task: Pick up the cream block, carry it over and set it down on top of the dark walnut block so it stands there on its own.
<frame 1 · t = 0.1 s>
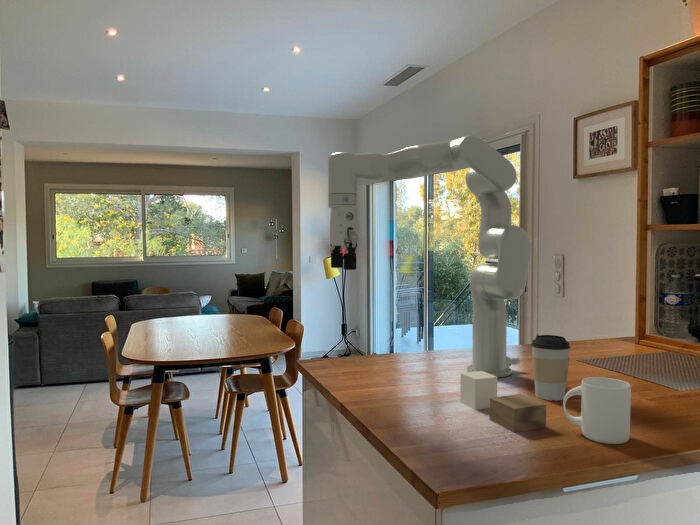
hand: (343, 268, 136), 31 cm above the counter, fingers open, 9 cm apart
coffee cup: (549, 397, 130), on the counter
mug: (595, 436, 104), on the counter
cream block: (478, 404, 124), on the counter
walnut block: (517, 424, 111), on the counter
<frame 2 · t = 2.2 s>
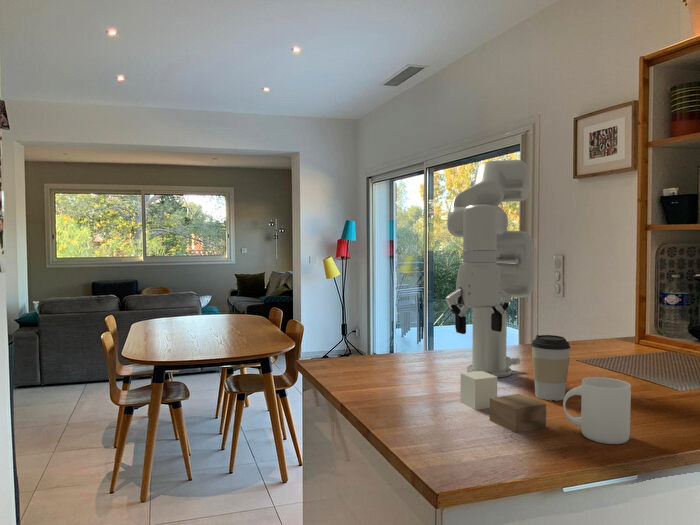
hand: (478, 332, 123), 17 cm above the counter, fingers open, 9 cm apart
nothing on the counter moved.
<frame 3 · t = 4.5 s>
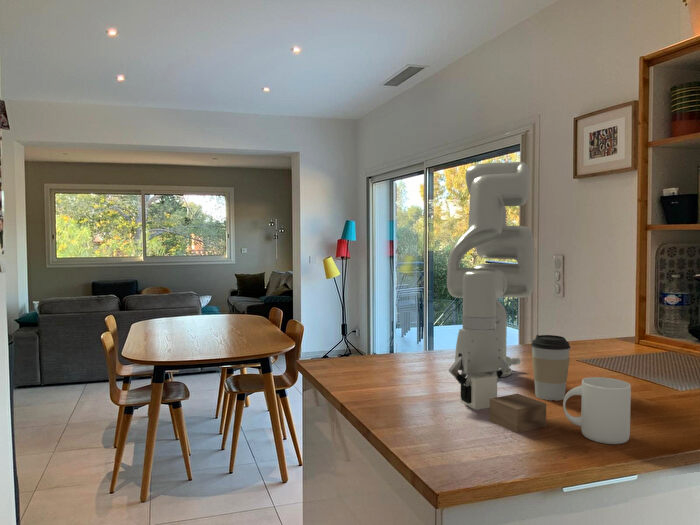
hand: (478, 399, 124), 1 cm above the counter, fingers closed on cream block, 6 cm apart
cream block: (478, 404, 124), on the counter, touching gripper
everything else where it was.
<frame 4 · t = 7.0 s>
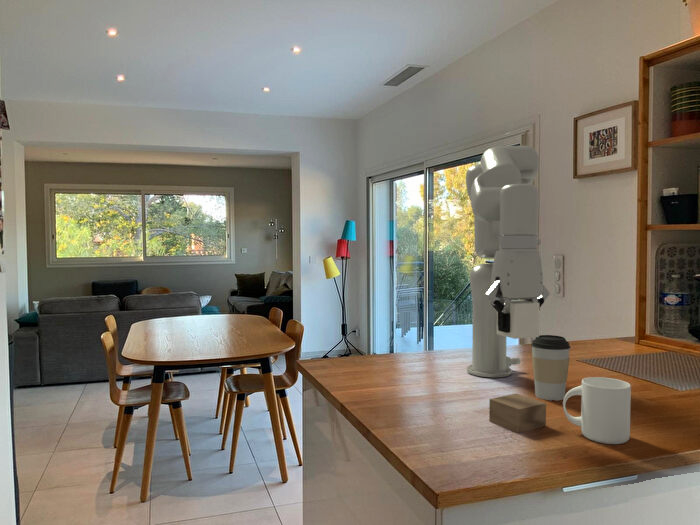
hand: (517, 329, 110), 20 cm above the counter, fingers closed on cream block, 6 cm apart
cream block: (517, 335, 110), point 19 cm above the counter, touching gripper
everything else where it was.
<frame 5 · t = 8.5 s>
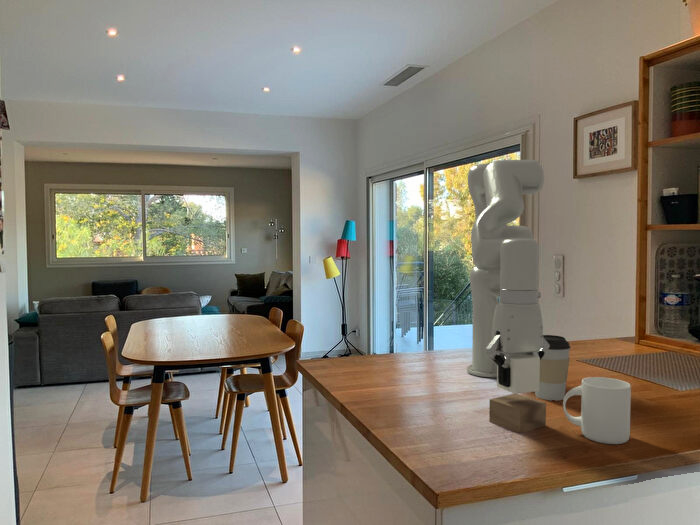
hand: (517, 383, 110), 9 cm above the counter, fingers closed on cream block, 6 cm apart
cream block: (517, 388, 110), point 7 cm above the counter, touching gripper
everything else where it was.
when the fingers open (7 cm above the counter, at t = 9.7 s): cream block stays where it is, resting on walnut block.
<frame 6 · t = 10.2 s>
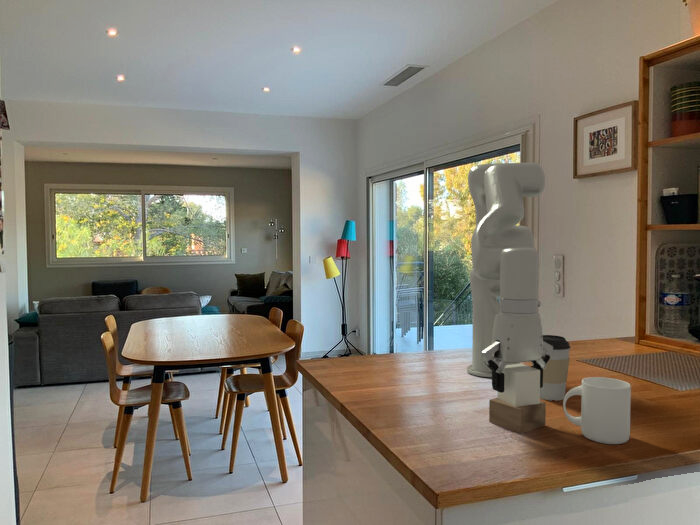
hand: (517, 388, 111), 7 cm above the counter, fingers open, 9 cm apart
cream block: (518, 401, 111), point 5 cm above the counter, touching walnut block
walnut block: (517, 424, 111), on the counter, touching cream block
everything else where it was.
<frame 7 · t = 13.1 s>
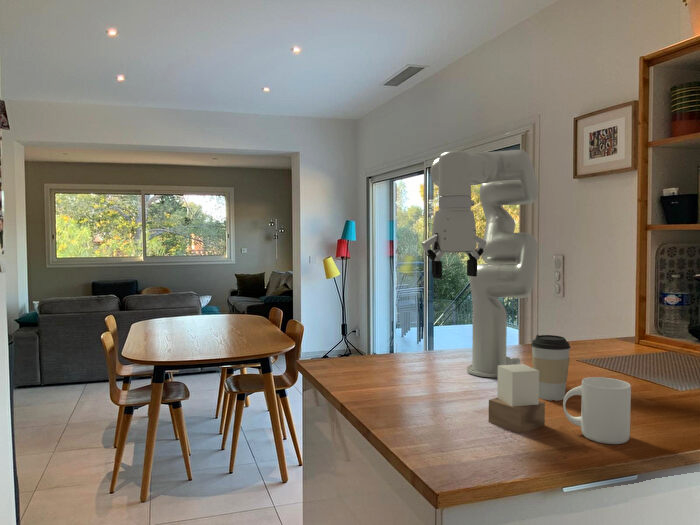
hand: (454, 277, 126), 30 cm above the counter, fingers open, 9 cm apart
nothing on the counter moved.
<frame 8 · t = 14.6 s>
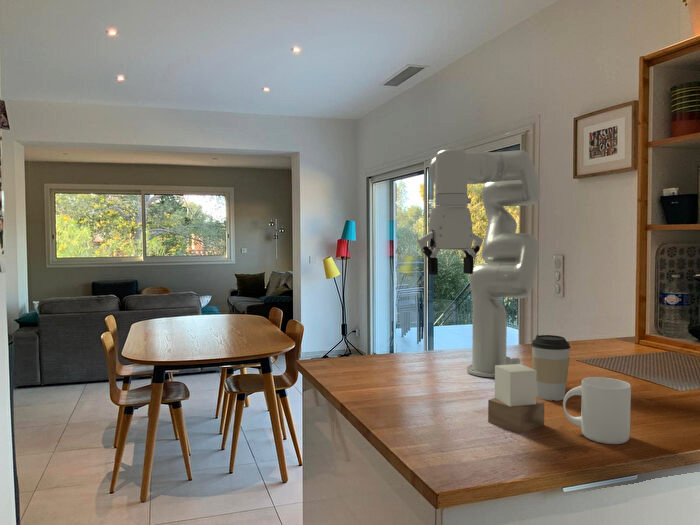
hand: (450, 274, 127), 30 cm above the counter, fingers open, 9 cm apart
cream block: (514, 401, 111), point 5 cm above the counter
walnut block: (515, 424, 111), on the counter
everything else where it was.
at the end: cream block 0.3 cm off-centre on the walnut block, point 5.0 cm above the walnut block's base; cream block tilted 1°; the gripper is holding nothing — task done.
